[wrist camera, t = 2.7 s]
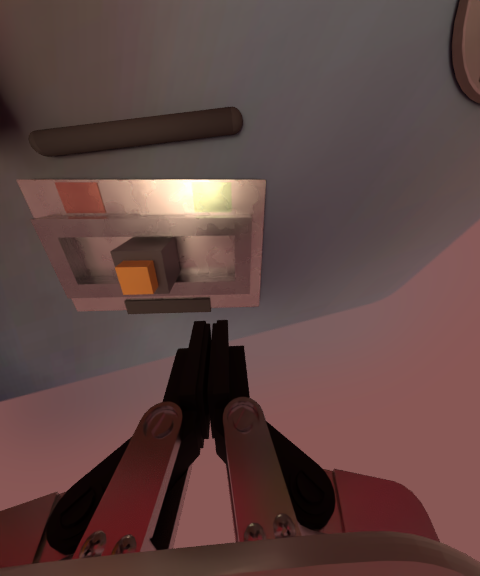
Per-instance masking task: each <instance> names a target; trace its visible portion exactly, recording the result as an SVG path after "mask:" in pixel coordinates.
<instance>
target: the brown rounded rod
mask: <svg viewBox="0 0 480 576" xmlns="http://www.w3.org/2000/svg"><path fill="white" fill-rule="evenodd" d="M242 123H243V119H242V115H241V113H240V111H239V110H238V109H237V108H235V107H225V108H217V109H209V110H201V111H192V112H184V113H176V114H168V115H160V116H151V117H143V118H135V119H127V120H118V121H110V122H102V123H94V124H85V125H77V126H69V127H61V128H53V129H44V130H36V131H33V132H31V133H30V135H29V143H30V145H31V146H32V148H33V149H34V150H35V151H36V152H38V153H39V154H41V155H44V156H59V155H67V154H76V153H84V152H92V151H101V150H109V149H117V148H125V147H134V146H142V145H150V144H159V143H167V142H175V141H184V140H192V139H200V138H209V137H217V136H225V135H233V134H236V133H238V132H239V131H240V129H241V127H242Z"/></svg>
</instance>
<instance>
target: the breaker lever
mask: <svg viewBox="0 0 480 576" xmlns="http://www.w3.org/2000/svg"><path fill="white" fill-rule="evenodd" d="M110 253H111V256H112V259H113V262H114V266H115V270H116V273H117V276H118V280H119V283H120V286H121V289H122V292H123V295H137V294H169V293H170V291H171V289H172V287H173V285H174V283H175V281H176V280H177V278H178V276H179V274H180V266H179V259H178V253H177V246H176V240H175V236H153V237H132V238H131V239H129V240H128V241H126V242H124V243H123V244H121V245H120V246H118V247H117V248H115V249H113V250H112V251H110Z"/></svg>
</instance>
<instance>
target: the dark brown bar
mask: <svg viewBox="0 0 480 576" xmlns="http://www.w3.org/2000/svg"><path fill="white" fill-rule="evenodd" d="M124 303H125V306H126V309H127V312H128V314H147V313H183V312H211V304H210V298H191V299H150V300H125V301H124Z"/></svg>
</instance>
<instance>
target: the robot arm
mask: <svg viewBox="0 0 480 576" xmlns="http://www.w3.org/2000/svg"><path fill="white" fill-rule="evenodd" d="M452 59H453V67H454V71H455V75H456V79H457V81H458V83H459V85H460V87H461V89H462V91H463V92H464V93H465V94H466V95H467V96H468V97H469V98H470V99H471V100H473V101H475V102H477V103H479V104H480V0H460V2H459V6H458V10H457V14H456V18H455V22H454V31H453V39H452ZM210 422H211V431H212V438H215V445H216V453H217V455H218V456H219V457H220V458H221V459H222V460H223V461H224V463H225V464H226V470H227V478H228V486H229V494H230V501H231V510H232V518H233V525H234V533H235V541H236V543H225V544H216V545H206V546H196V547H187V548H176V549H173V545H174V542H175V537H176V533H177V529H178V525H179V520H180V516H181V512H182V508H183V503H184V499H185V495H186V491H187V486H188V482H189V478H190V474H191V469H192V463H193V462H194V460H195V459H196V458H197V457H198V456H199V455H200V448H203V445H204V439H208V438H209V427H210V426H209V425H210ZM0 576H480V562H478V561H477V560H475V559H473V558H472V557H470V556H468V555H467V554H465V553H463V552H460V551H458V550H456V549H454V548H452V547H450V546H448V545H446V544H443V543H440V541H439V539H438V536H437V534H436V532H435V529H434V527H433V525H432V523H431V520H430V518H429V516H428V514H427V512H426V510H425V508H424V507H423V505H422V503H421V502H420V501H419V499H418V498H417V497H416V496H415V495H414V494H413V492H411V491H410V490H408V489H407V488H406V487H405V486H403V485H402V484H399V483H397V482H394V481H390V480H386V479H380V478H376V477H371V476H367V475H362V474H357V473H352V472H347V471H343V470H337V469H334V470H333V471H330V470H326V469H322V468H321V467H320V466H319V465H318V464H317V463H316V462H314V461H313V460H312V459H311V458H310V457H308V456H307V455H306V454H305V453H304V452H303V451H301V450H300V449H299V448H298V447H297V446H295V445H294V444H293V443H292V442H291V441H289V440H288V439H287V438H286V437H285V436H283V435H282V434H281V433H280V432H278V431H277V430H276V429H275V428H274V427H273V426H271V425H270V424H269V423H268V422H267V421H266V420H265V417H264V414H263V411H262V409H261V407H260V405H259V404H258V403H257V402H255V401H254V400H253V399H251V398H250V396H249V387H248V379H247V370H246V362H245V352H244V346H229V343H228V320H217V323H213V328H212V340H211V330H210V324H206V321H195V322H194V325H193V330H192V334H191V339H190V343H189V348H182V349H178V350H177V353H176V356H175V360H174V363H173V367H172V371H171V374H170V378H169V382H168V385H167V388H166V392H165V395H164V399H163V402H161V403H158V404H156V405H154V406H153V407H151V408H150V409H149V410H148V411H147V412H146V413H145V414H144V415H143V417H142V419H141V420H140V422H139V424H138V426H137V428H136V430H135V433H134V434H133V436H132V437H131V438H130V439H129V440H127V441H126V442H125V443H124V444H123V445H121V446H120V447H119V448H118V449H117V450H115V451H114V452H113V453H112V454H110V455H109V456H108V457H107V458H106V459H104V460H103V461H102V462H101V463H100V464H98V465H97V466H96V467H95V468H94V469H92V470H91V471H90V472H89V473H88V474H86V475H85V476H84V477H83V478H81V479H80V480H79V481H78V482H77V483H75V484H74V485H73V486H72V487H71V488H70V489H69V490H68V491H67V492H64V493H61V494H59V493H58V492H55V493H52V494H49V495H46V496H43V497H40V498H37V499H34V500H32V501H29V502H26V503H23V504H20V505H17V506H14V507H11V508H8V509H5V510H2V511H0Z"/></svg>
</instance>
